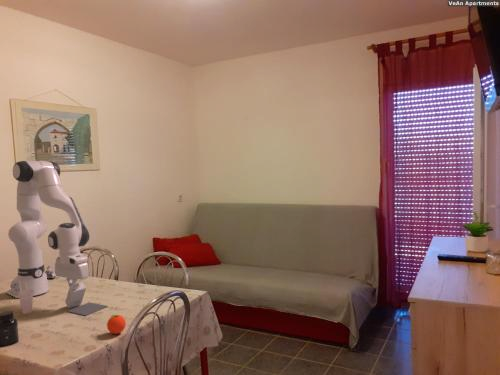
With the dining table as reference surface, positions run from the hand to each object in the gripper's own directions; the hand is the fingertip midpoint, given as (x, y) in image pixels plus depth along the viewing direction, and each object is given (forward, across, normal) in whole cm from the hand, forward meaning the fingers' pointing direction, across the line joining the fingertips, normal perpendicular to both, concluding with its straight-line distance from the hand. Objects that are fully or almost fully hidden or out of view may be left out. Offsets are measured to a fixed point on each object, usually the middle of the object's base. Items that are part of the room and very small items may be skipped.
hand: (72, 286), depth 184 cm
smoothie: (+9, -14, -14) cm, 22 cm away
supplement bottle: (+10, +12, -37) cm, 40 cm away
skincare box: (+8, -1, 0) cm, 8 cm away
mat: (+10, +10, 0) cm, 14 cm away
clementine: (+10, +43, -13) cm, 46 cm away
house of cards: (+10, -60, +30) cm, 68 cm away
